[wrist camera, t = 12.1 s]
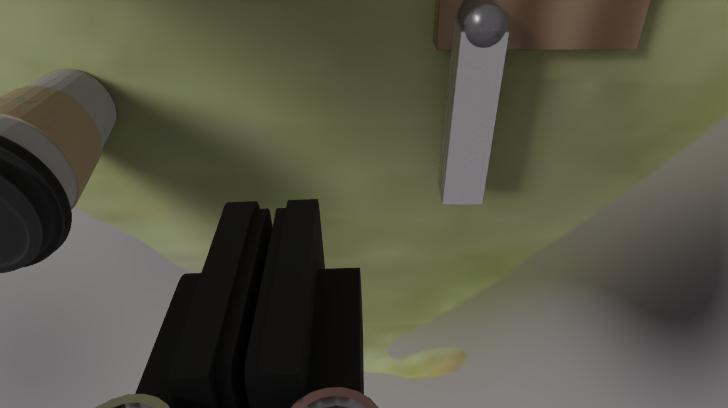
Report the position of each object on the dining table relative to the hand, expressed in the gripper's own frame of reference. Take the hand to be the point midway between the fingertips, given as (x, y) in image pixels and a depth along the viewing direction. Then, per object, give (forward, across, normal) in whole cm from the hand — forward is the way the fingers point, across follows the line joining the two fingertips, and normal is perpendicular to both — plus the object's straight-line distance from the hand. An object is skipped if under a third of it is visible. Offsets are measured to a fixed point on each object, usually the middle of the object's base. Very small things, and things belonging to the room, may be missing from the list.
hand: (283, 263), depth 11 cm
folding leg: (+30, -9, +10) cm, 33 cm away
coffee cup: (+32, +20, +10) cm, 40 cm away
